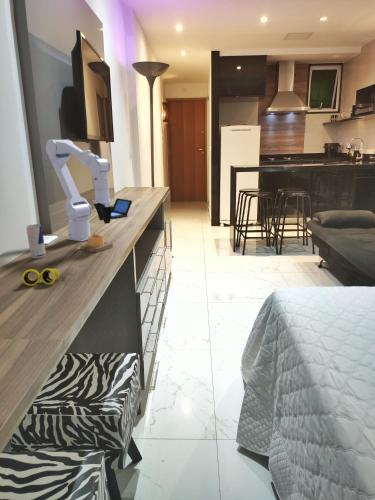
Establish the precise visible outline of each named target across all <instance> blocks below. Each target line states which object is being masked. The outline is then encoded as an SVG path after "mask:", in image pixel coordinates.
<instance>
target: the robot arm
mask: <svg viewBox="0 0 375 500" xmlns="http://www.w3.org/2000/svg"><path fill="white" fill-rule="evenodd" d="M45 145H46V146H45V151H46V153H47V155H48V158H49V160H50V162H51V165H52V166H53V169H54V172H55V173H56V175H57V177H58V180H59V183H60V185H61V187H62V190H63V191H64V192H63V193H64V194H65V196H66V199H67V201H66V203H65V205H64V207H65V210H66V215H67V216H66V217H68V218H69V220H68V221H67V226H66V227H67V234H68V237H67V240H69V241H70V240H71V241H78V242H84V241H87V240H88V237H89V236H91V229H90V220H89V219H90V218H91V216H92V213H93V209H92V206H91V204H89V202H88V200H87V199H86V198H85V197H83V196H81V195H80V193H79V191H78V189H77V186H76V183H75V181H74V179H73V177H72V175H71V172H70V170H69V168H68V166H67V162H69V160H70V158H71V156H74V157H76V158H78V161H79V162H80V163H81V164H82V165H83V166H86V167H87V168H89V171H90V172H91V177H92V179H93V185H94V186H93V187H94V196H95V199H93V200H92V202H93V207H94V208H95V210H96V213H97V215H98V219H99V221H103V223H104V224H105V225H107V224H110V223H111V219H112V218H111V213H112V210H113V208H114V207H113V206H114V205H111V198H110V187H109V186H110V185H109V175H108V173H109V172H110V169H111V163H110V161H109V160H108V159H107V158H105V157H102V158H101V157H100V156H99V155H98V154H94V153H92V150H90V149H85V150H83V149H81V148H80V147H78V146H77V145H76V144H74V142H73V141H72V140H70V139H68V138H67V139H49V140H47V142H46V144H45ZM88 241H89V240H88Z"/></svg>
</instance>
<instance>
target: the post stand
mask: <svg viewBox="0 0 375 500" xmlns="http://www.w3.org/2000/svg"><path fill="white" fill-rule="evenodd" d="M92 235H93V238H96V237H99V235H100V234H98V233H93V234H92ZM113 244H114V243H112V242H106V241H104V244H103V245H102V246H97V247H92V246H89V242H88V243H86V244H83V245H80V246H79V247H80V250H81V251H85V252H91V253H100V252H103V251H105V249H106V250H108V249H111V248H113ZM110 247H111V248H110Z"/></svg>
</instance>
